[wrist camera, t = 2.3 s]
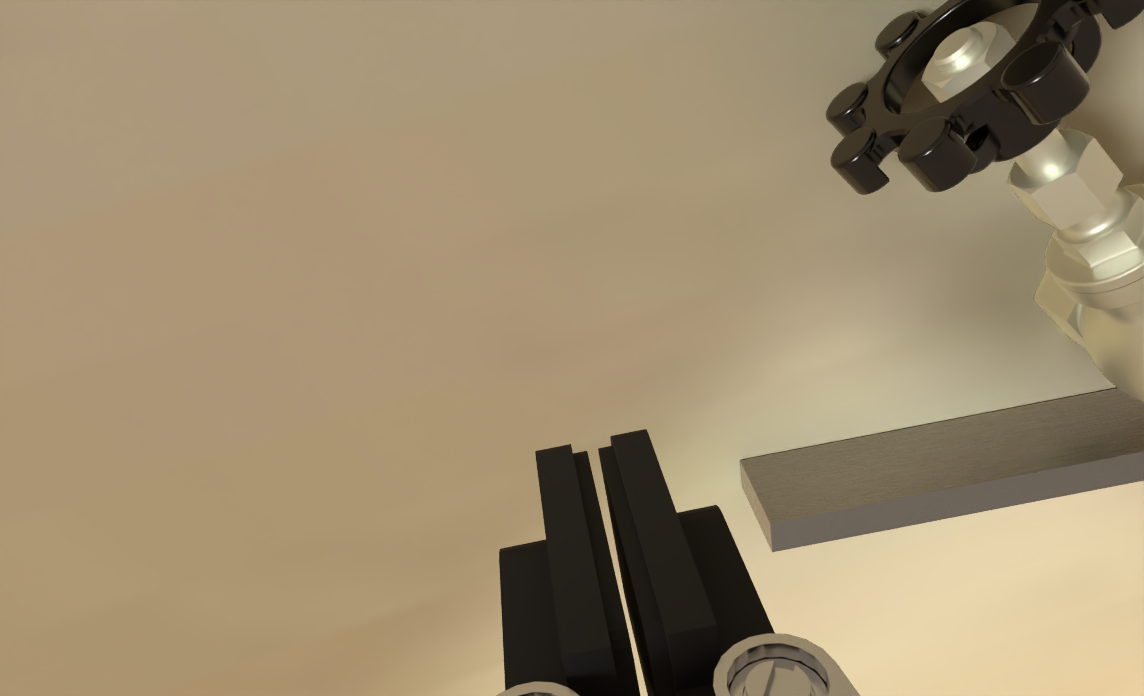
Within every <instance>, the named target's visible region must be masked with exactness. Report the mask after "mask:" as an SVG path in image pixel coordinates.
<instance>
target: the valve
mask: <svg viewBox="0 0 1144 696" xmlns="http://www.w3.org/2000/svg"><path fill="white" fill-rule="evenodd" d="M1024 3H1039V5H1038V8H1037V11H1036V14H1035V16H1034V18H1033V20H1032V22H1031V23H1030V25H1029V27H1028V28H1027V30H1026V31H1025V32H1024V34H1023V35H1022V36H1021V38H1020V39H1019V40H1018V42H1017V43H1016V42H1015V40H1014V39H1013V38H1012V36H1011V35H1010V34H1009V33H1008V31H1007V30H1006V29H1005V28H1004V27H1003V26H1001V25H998V24H996V23H992V22H987V21H984V22H980V21H981V20H983V19H985V18H987V17H988V16H990V15H993V14H995V13H997V12H999V11H1002V10H1004V9H1006V8H1009V7H1013V6H1016V5H1020V4H1024ZM1143 10H1144V0H948V1H947V2H946V3H945V4H943V5H942V6H941V7H939V8H938V9H937V10H936V11H934V12H933V13H932V14H930V15H929V16H927V17H925V18H923V19H921V18H920V17H919V15H918V14H917V13H915V12H907V13H904V14H902V15H900V16H898V17H897V18H895V19H894V20H893V21H891V22H890V23H889V24H888V25H887V26H886V27H885V28H884V30H883V31H882V32H881V33H880V34H879V36H878V37H877V39H876V42H875V48H876V50H877V51H878V52H879V53H880V55H881V56H882V57H883V58H884V59H885V60H886V62H885V63H884V65H883V66H882V68H881V69H880V70H879V72H878V73H877V74H876V75H875V76H874V77H873V78H872V79H871V80H870V81H868V82H867V83H862V82H859V83H855V84H852V85H850V86H849V87H847V88H846V89H844V90H843V91H842V92H840V93H839V94H838V95H837V96H836V97H835V98H834V99H833V101H832V102H831V103H830V105H829V107H828V109H827V111H826V118H827V120H828V121H829V122H830V123H831V124H832V125H833V126H834V128H835V129H836V130H837V131H838V132H839V133H840V134H841V135H842V136H843V137H844V139H843V140H842V141H841V142H840V143H839V144H838V145H837V147H836V148H835V150H834V151H833V153H832V156H831V161H830V162H831V166H832V167H833V168H834V169H835V170H836V171H837V172H838V173H839V175H840V176H841V177H842V178H843V179H844V180H845V181H846V182H847V183H848V184H849V185H850V186H851V187H852V188H853V189H854V190H855V191H856V192H857V193H859V194H862V195H866V194H870V193H873V192H875V191H877V190H879V189H880V188H882V187H883V186H885V185H886V184H887V183H888V182H889V178H888V177H887V176H886V175H885V174H884V173H883V171H882V170H881V169H880V168H879V167H878V166H879V165H880V163H881V162H882V161H883V160H884V158H885V157H886V156H887V155H888V154H889V153H891V152H892V151H895V152H898V158H899V160H900V161H901V163H902V164H903V165H904V166H905V167H906V168H907V169H908V170H909V171H910V172H911V174H912V175H913V176H914V177H915V178H916V179H917V180H918V181H919V182H920V183H921V184H922V185H923V186H924V187H925V189H926V190H928V191H930V192H942V191H945V190H947V189H950V188H952V187H954V186H955V185H957V184H958V183H960V182H961V181H962V180H963V179H964V178H965V177H967V176H968V175H969V174H974V173H977V172H980V171H982V170H984V169H985V168H986V167H988V166H989V165H990V164H991V163H992V162H1001V161H1006V160H1009V159H1012V158H1013V159H1014V160H1015V161H1016V162H1015V163H1014V165H1013V167H1012V169H1011V172H1010V174H1009V177H1008V180H1007V184H1008V185H1009V187H1010V188H1011V189H1012V190H1013V191H1014V192H1015V194H1016V195H1017V196H1018V197H1019V198H1020V199H1021V200H1022V202H1023V203H1024V204H1025V205H1026V206H1027V207H1028V209H1029V210H1030V211H1031V212H1032V213H1033V214H1034V215H1035V217H1036V218H1038V219H1040V220H1042V221H1044V222H1046V223H1048V224H1050V225H1052V226H1053V227H1055V232H1054V233H1053V234H1052V236H1051V239H1050V241H1049V243H1048V245H1047V248H1046V253H1045V264H1046V268H1047V270H1046V272H1045V274H1044V276H1043V278H1042V280H1041V282H1040V285H1039V287H1038V289H1037V291H1036V293H1035V297H1034V300H1035V301H1036V302H1037V303H1038V304H1039V305H1040V306H1041V308H1042V309H1043V310H1044V311H1045V312H1046V313H1047V314H1048V315H1049V316H1050V317H1051V318H1052V319H1053V321H1054V322H1055V323H1056V324H1057V325H1058V326H1059V327H1060V328H1061V329H1062V330H1063V331H1064V333H1065V334H1066V335H1067V336H1068V337H1069V338H1071V339H1072V340H1074V341H1075V342H1076V343H1078V344H1079V345H1081V346H1082V347H1084V348H1085V349H1086V350H1088V352H1089V355H1090V357H1091V358H1092V360H1093V362H1094V363H1095V364H1096V366H1097V367H1098V368H1099V370H1100V371H1101V372H1102V374H1103V375H1104V376H1105V377H1106V378H1107V379H1108V380H1109V381H1110V382H1111V383H1113V384H1114V385H1115V386H1116V387H1118V388H1119V389H1121V390H1122V391H1124V392H1125V393H1127V394H1128V395H1130V396H1132V397H1134V398H1136V399H1138V400H1140V401H1142V402H1144V184H1133V185H1128V186H1123V187H1119V186H1118V185H1119V183H1120V181H1121V179H1122V177H1123V174H1122V172H1121V171H1120V170H1119V169H1118V167H1117V166H1116V165H1115V163H1114V162H1113V161H1112V160H1111V158H1110V157H1109V156H1108V154H1107V153H1106V152H1105V151H1104V149H1103V148H1102V147H1101V146H1100V144H1099V143H1098V142H1097V140H1096V139H1095V138H1094V137H1092V136H1090V135H1088V134H1086V133H1084V132H1081V131H1079V130H1076V129H1072V128H1065V129H1062V130H1059V131H1058V130H1057V129H1056V127H1057V125H1058V124H1059V122H1060V121H1061V119H1062V118H1063V117H1064V116H1066V115H1067V114H1069V113H1070V112H1072V111H1073V110H1074V109H1075V108H1076V107H1078V106H1079V105H1080V104H1081V103H1082V101H1083V100H1084V99H1085V97H1086V96H1087V94H1088V92H1089V90H1090V85H1091V84H1090V79H1089V78H1088V76H1087V75H1086V74H1087V72H1088V71H1089V70H1090V69H1091V67H1092V66H1093V65H1094V63H1095V61H1096V59H1097V57H1098V55H1099V51H1100V48H1101V44H1102V33H1101V29H1100V25H1099V21H1098V18H1097V14H1100V13H1102V15H1103V16H1104V18H1105V19H1106V20H1107V22H1108V23H1109V25H1110V26H1111V27H1112V28H1113V29H1115V30H1116V29H1118V28H1120V27H1122V26H1124V25H1125V24H1127V23H1129V22H1130V21H1131V20H1133V19H1134V18H1135V17H1137V16H1138V15H1139V14H1140V13H1141V12H1142V11H1143ZM978 22H979V23H978ZM976 23H977V24H976ZM921 71H922V72H923V73H924V74H923V76H922V80H921V81H922V82H923V84H924V85H925V86H926V87H927V88H928V89H929V91H930V92H931V93H932V94H933V95H934V96H935V98H936V99H937V100H938V101H939V102H940V104H937V105H935V106H933V107H931V108H928V109H925V110H922V111H920V112H915V113H911V114H900V111H901V105H902V102H903V99H904V97H905V95H906V93H907V91H908V89H909V87H910V86H911V84H912V82H913V81H914V80H915V78H916V77H917V76H918V74H919V73H920V72H921ZM964 141H965V143H964Z"/></svg>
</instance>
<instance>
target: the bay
mask: <svg viewBox="0 0 1144 696" xmlns="http://www.w3.org/2000/svg"><path fill="white" fill-rule="evenodd" d="M740 467H741V478H742V488H743V490H744V492H745V494H746V496H747V498H748V501H749V503H750V505H751V507H752V509H753V511H754V514H755V516H756V518H757V520H758V522H759V524H760V527H761V529H762V531H763V533H764V535H765V538H766V540H767V542H768V544H769V546H770V548H771V551H772V552H775V551H781V550H786V549H791V548H796V547H801V546H807V545H812V544H817V543H822V542H827V541H832V540H838V539H843V538H848V537H853V536H858V535H864V534H869V533H874V532H879V531H884V530H889V529H895V528H900V527H905V526H910V525H915V524H921V523H926V522H931V521H936V520H941V519H946V518H952V517H957V516H962V515H967V514H972V513H978V512H983V511H988V510H993V509H998V508H1003V507H1009V506H1014V505H1019V504H1024V503H1029V502H1035V501H1040V500H1045V499H1050V498H1055V497H1061V496H1066V495H1071V494H1076V493H1081V492H1086V491H1092V490H1097V489H1102V488H1107V487H1112V486H1118V485H1123V484H1128V483H1133V482H1138V481H1143V480H1144V402H1142V401H1140V400H1138V399H1136V398H1134V397H1132V396H1130V395H1128V394H1127V393H1125V392H1124V391H1122V390H1121V389H1119V388H1114V389H1109V390H1104V391H1099V392H1094V393H1088V394H1083V395H1078V396H1073V397H1067V398H1062V399H1057V400H1052V401H1047V402H1041V403H1036V404H1031V405H1026V406H1021V407H1015V408H1010V409H1005V410H1000V411H994V412H989V413H984V414H979V415H974V416H968V417H963V418H958V419H953V420H948V421H942V422H937V423H932V424H927V425H921V426H916V427H911V428H906V429H901V430H895V431H890V432H885V433H880V434H875V435H869V436H864V437H859V438H854V439H848V440H843V441H838V442H833V443H828V444H822V445H817V446H812V447H807V448H802V449H796V450H791V451H786V452H781V453H776V454H770V455H765V456H760V457H755V458H749V459H744V460H740Z"/></svg>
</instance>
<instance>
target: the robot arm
mask: <svg viewBox="0 0 1144 696" xmlns="http://www.w3.org/2000/svg"><path fill="white" fill-rule="evenodd" d="M610 438H611V446H609V447H604V448H599V449H598V450H599V456H600V462H601V468H602V473H603V479H604V484H605V490H606V495H607V501H608V506H609V512H610V517H611V523H612V528H613V534H614V539H615V545H616V551H617V556H618V562H619V567H620V573H621V578H622V584H623V589H624V594H625V599H626V604H627V608H628V613H629V617H630V621H631V625H632V630H633V634H634V638H635V642H636V647H637V651H638V655H639V659H640V664H641V668H642V672H643V676H644V681H645V685H646V689H647V693H648V696H860V695H859V693H858V692H857V691H856V689H855V688H854V687H853V685H852V684H851V682H850V681H849V680H848V678H847V677H846V675H845V674H844V673H843V671H842V670H841V669H840V667H839V666H838V664H837V663H836V662H835V661H834V660H833V659H832V658H831V657H830V656H829V655H828V654H827V653H826V652H825V651H824V650H823V649H822V648H820V647H819V646H817V645H815V644H813V643H812V642H810V641H808V640H806V639H803V638H800V637H796V636H792V635H789V634H775V633H774V630H773V628H772V626H771V624H770V621H769V619H768V617H767V614H766V612H765V610H764V608H763V605H762V603H761V601H760V598H759V596H758V594H757V592H756V589H755V587H754V585H753V582H752V580H751V578H750V576H749V573H748V571H747V569H746V567H745V564H744V562H743V560H742V557H741V555H740V553H739V551H738V548H737V546H736V544H735V541H734V539H733V537H732V535H731V532H730V530H729V528H728V525H727V523H726V521H725V519H724V516H723V514H722V512H721V510H720V508H719V507H718V506H717V505H714V506H709V507H704V508H699V509H694V510H689V511H684V512H679V513H677V512H676V510H675V507H674V504H673V501H672V499H671V496H670V493H669V490H668V487H667V485H666V482H665V479H664V476H663V473H662V471H661V468H660V465H659V462H658V460H657V457H656V454H655V451H654V448H653V446H652V443H651V440H650V437H649V435H648V432H647V430H646V429H644V430H639V431H634V432H629V433H624V434H619V435H614V436H611V437H610ZM535 453H536V462H537V470H538V478H539V486H540V493H541V501H542V509H543V517H544V525H545V533H546V540H542V541H537V542H532V543H527V544H522V545H517V546H512V547H507V548H502V549H500V552H499V563H500V584H501V605H502V627H503V648H504V669H505V690H506V691H504V692H502V693H500V694H498V695H497V696H640V691H639V686H638V680H637V675H636V669H635V664H634V658H633V653H632V648H631V643H630V638H629V634H628V629H627V624H626V620H625V615H624V611H623V607H622V602H621V598H620V594H619V589H618V585H617V580H616V576H615V572H614V567H613V563H612V558H611V554H610V550H609V545H608V541H607V537H606V532H605V528H604V523H603V519H602V515H601V510H600V506H599V501H598V497H597V493H596V488H595V484H594V480H593V475H592V471H591V466H590V462H589V458H588V453H587V451H584V452H579V453H574V454H573V453H572V448H571V444H569V445H564V446H559V447H554V448H549V449H544V450H539V451H536V452H535Z"/></svg>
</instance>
